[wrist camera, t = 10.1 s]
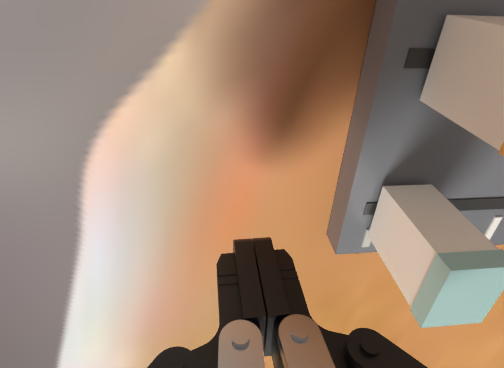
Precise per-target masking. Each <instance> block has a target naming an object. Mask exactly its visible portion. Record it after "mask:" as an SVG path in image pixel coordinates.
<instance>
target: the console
mask: <svg viewBox="0 0 504 368" xmlns="http://www.w3.org/2000/svg"><path fill="white" fill-rule="evenodd" d="M447 15H475V16H504V0H376V5H375V10H374V14H373V19H372V24H371V28H370V33H369V38H368V42H367V47H366V52H365V56H364V61H363V66H362V71H361V75H360V80H359V85H358V89H357V94H356V99H355V103H354V108H353V113H352V117H351V122H350V127H349V132H348V136H347V141H346V146H345V150H344V155H343V160H342V164H341V169H340V174H339V178H338V183H337V188H336V193H335V197H334V202H333V207H332V211H331V216H330V221H329V225H328V230H327V236H328V238H329V240H330V243H331V245H332V247H333V249H334V252H335V254H350V253H366V252H377V250H376V249H375V247H374V245H373V244H372V242H371V240H370V239H369V237H368V233H369V230H370V227H371V223H372V220H373V217H374V213H375V210H376V207H377V204H378V200H379V197H380V194H381V190H382V187H383V186H398V185H427V184H432V185H433V186H434V187H435V188H436V189H437V190H438V191H439V192H440V193H441V194H442V195H443V196H444V197H445V198H446V199H448V200H449V201H450V202H451V203H452V204H453V205H454V206H455V207H456V208H457V209H458V210H459V211H460V212H461V213H462V214H463V215H464V216H465V217H466V218H467V219H468V220H469V221H470V222H471V223H472V224H473V225H474V226H475V227H476V228H477V229H479V230H480V231H481V232H482V233H483V234H484V235H485V236H486V237H487V238H488V239H489V240H490V241H491V242H492V243H493V244H494V245H502V244H504V156H502V155H500V154H499V153H498V152H499V150H497V149H496V148H494V147H493V146H491V145H490V144H488V143H486V142H485V141H483V140H482V139H480V138H478V137H477V136H475V135H474V134H472V133H471V132H469V131H467V130H466V129H464V128H463V127H461V126H459V125H458V124H456V123H455V122H453V121H451V120H450V119H448V118H447V117H445V116H444V115H442V114H440V113H439V112H437V111H436V110H434V109H432V108H431V107H429V106H428V105H426V104H425V103H423V102H421V101H420V97H421V94H422V91H423V88H424V84H425V81H426V78H427V75H428V72H429V69H430V66H431V63H432V60H433V56H434V53H435V50H436V47H437V44H438V41H439V38H440V35H441V32H442V28H443V25H444V22H445V19H446V16H447Z"/></svg>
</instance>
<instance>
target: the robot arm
mask: <svg viewBox="0 0 504 368" xmlns="http://www.w3.org/2000/svg"><path fill="white" fill-rule="evenodd" d="M217 285H218V304H219V323H220V325H219V329H218V331H217V333H216V335H215V336H214V338H213V339H212V340H211V341H209V342H208V343H207V344H205V345H203V346H201V347H199V348H196V349H194V350H192V351H190V350H189V349H187V348H184V347H171V348H168V349H166V350H164V351H163V352H161V353H160V354H159V355H158V356H157V357H156V358H155V359H154V360H153V362H152V363H151V364H150V365H149V366H148V367H147V368H265V366H264V356H272V360H273V365H274V368H427V367H426V366H424V365H423V364H422V363H420V362H419V361H417V360H416V359H415V358H413V357H412V356H410V355H409V354H408V353H406V352H405V351H403V350H402V349H400V348H399V347H398V346H396V345H395V344H393V343H392V342H391V341H389V340H388V339H386V338H385V337H384V336H382V335H381V334H379V333H378V332H376V331H374V330H371V329H368V328H358V329H355V330H353V331H352V332H351V333H350V334H349V335H345V334H341V333H336V332H332V331H328V330H326V329H324V328H322V327H320V326H319V325H318V324H317V323H316V322H315V321H314V320H313V319H312V317H311V316H310V314H309V311H308V308H307V304H306V301H305V298H304V295H303V292H302V288H301V285H300V282H299V280H298V276H297V272H296V270H295V266H294V263H293V260H292V258H291V256H290V255H289V254H288V253H287V252H286V251H285V250H284V249H281V250H274V248H273V244H272V240H271V238H270V237H266V238H253V239H238V240H233V253H227V254H221V256H220V258H219V260H218V262H217ZM263 350H264V354H263Z"/></svg>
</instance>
